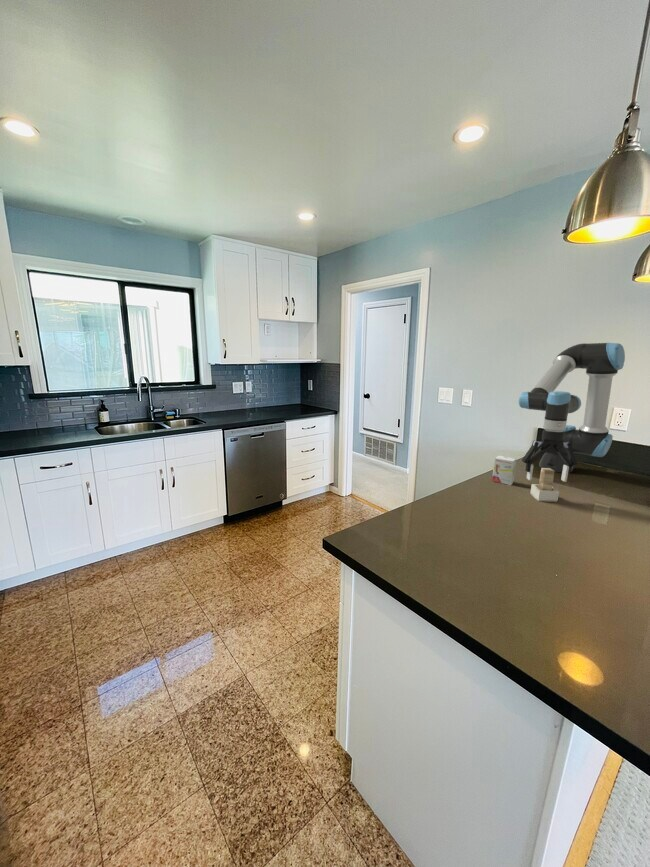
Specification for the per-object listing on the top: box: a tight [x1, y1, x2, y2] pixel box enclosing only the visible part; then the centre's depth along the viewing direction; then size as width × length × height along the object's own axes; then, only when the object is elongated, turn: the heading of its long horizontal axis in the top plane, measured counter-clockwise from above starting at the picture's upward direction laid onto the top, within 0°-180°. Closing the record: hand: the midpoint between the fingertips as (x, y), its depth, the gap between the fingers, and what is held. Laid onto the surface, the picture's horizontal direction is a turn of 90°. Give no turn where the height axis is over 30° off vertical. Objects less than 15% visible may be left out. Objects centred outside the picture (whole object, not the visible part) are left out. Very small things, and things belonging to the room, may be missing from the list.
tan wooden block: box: [538, 467, 556, 491], centre depth 146 cm, size 4×4×12 cm
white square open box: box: [529, 483, 560, 503], centre depth 147 cm, size 7×7×4 cm
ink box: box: [491, 455, 517, 486], centre depth 164 cm, size 9×5×12 cm, turn 50°
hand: (546, 480), depth 145 cm, fingers open, 13 cm apart
